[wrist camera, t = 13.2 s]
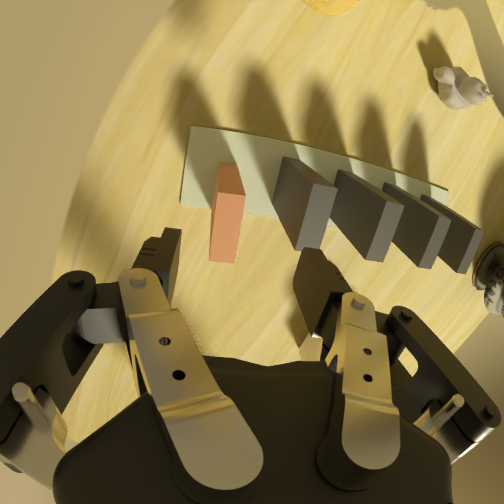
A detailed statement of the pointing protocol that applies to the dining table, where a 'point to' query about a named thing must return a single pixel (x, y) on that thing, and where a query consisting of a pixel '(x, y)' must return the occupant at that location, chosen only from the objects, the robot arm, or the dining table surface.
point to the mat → (273, 169)
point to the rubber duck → (459, 88)
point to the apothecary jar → (491, 278)
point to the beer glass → (332, 6)
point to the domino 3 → (365, 215)
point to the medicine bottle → (310, 348)
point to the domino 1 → (226, 213)
